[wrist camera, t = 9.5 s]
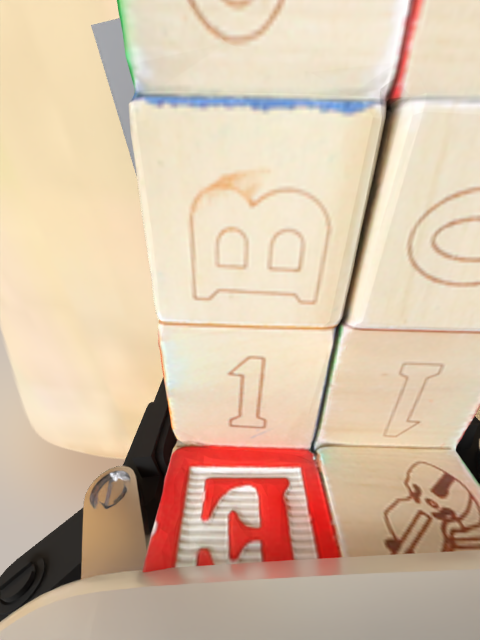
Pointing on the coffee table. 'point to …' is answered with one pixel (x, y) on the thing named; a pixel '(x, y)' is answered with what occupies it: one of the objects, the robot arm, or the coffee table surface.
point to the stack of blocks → (311, 272)
